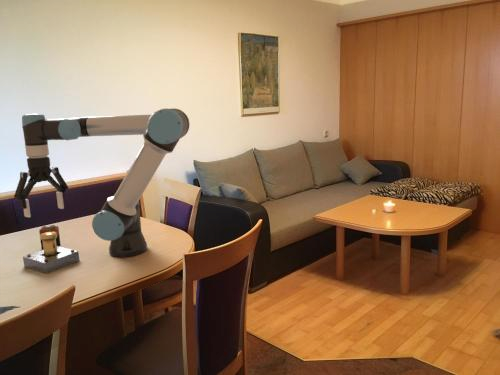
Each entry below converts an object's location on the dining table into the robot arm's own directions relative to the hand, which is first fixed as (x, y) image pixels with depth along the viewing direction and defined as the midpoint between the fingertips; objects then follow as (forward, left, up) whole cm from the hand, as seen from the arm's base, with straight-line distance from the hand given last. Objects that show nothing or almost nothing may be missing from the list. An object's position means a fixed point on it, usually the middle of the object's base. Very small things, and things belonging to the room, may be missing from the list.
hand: (45, 212), depth 160 cm
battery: (+17, -11, -21) cm, 29 cm away
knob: (0, 0, -21) cm, 21 cm away
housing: (0, 0, -21) cm, 21 cm away
